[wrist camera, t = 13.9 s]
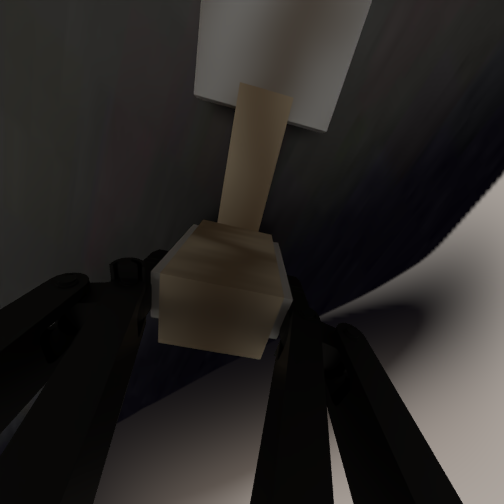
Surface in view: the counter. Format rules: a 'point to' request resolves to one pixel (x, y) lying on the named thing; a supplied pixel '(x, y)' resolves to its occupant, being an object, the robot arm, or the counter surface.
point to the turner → (253, 159)
